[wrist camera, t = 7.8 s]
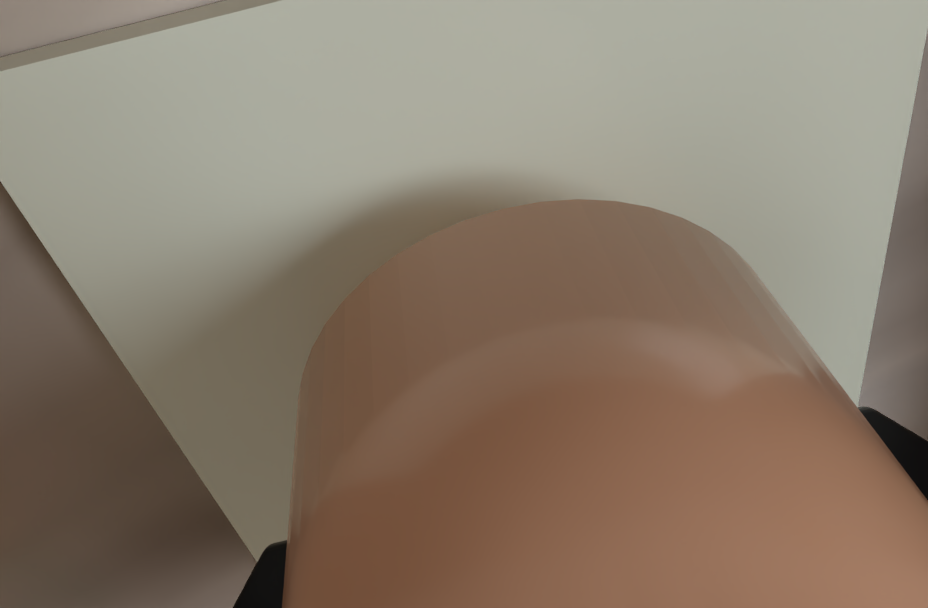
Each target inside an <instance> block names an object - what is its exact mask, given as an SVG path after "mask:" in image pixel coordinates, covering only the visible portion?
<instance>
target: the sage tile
mask: <svg viewBox="0 0 928 608" xmlns="http://www.w3.org/2000/svg"><path fill="white" fill-rule="evenodd" d="M927 30H928V0H225V1H221V2H217V3H213V4H209V5H205V6H201V7H197V8H193V9H189V10H185V11H181V12H177V13H173V14H169V15H165V16H162V17H158V18H154V19H150V20H146V21H142V22H138V23H134V24H130V25H126V26H122V27H118V28H114V29H110V30H106V31H102V32H98V33H94V34H90V35H86V36H82V37H78V38H75V39H71V40H67V41H63V42H59V43H55V44H51V45H47V46H43V47H39V48H35V49H31V50H27V51H23V52H19V53H15V54H11V55H7V56H3V57H0V181H1V183H2V184H3V186H4V187H5V189H6V190H7V192H8V193H9V195H10V196H11V198H12V199H13V201H14V202H15V204H16V205H17V207H18V208H19V210H20V211H21V213H22V214H23V216H24V217H25V218H26V220H27V221H28V223H29V224H30V226H31V227H32V229H33V230H34V232H35V233H36V235H37V236H38V238H39V239H40V241H41V242H42V244H43V245H44V247H45V248H46V250H47V251H48V253H49V254H50V256H51V257H52V259H53V260H54V262H55V263H56V265H57V266H58V267H59V269H60V270H61V272H62V273H63V275H64V276H65V278H66V279H67V281H68V282H69V284H70V285H71V287H72V288H73V290H74V291H75V293H76V294H77V296H78V297H79V299H80V300H81V302H82V303H83V305H84V306H85V308H86V309H87V311H88V312H89V314H90V315H91V316H92V318H93V319H94V321H95V322H96V324H97V325H98V327H99V328H100V330H101V331H102V333H103V334H104V336H105V337H106V339H107V340H108V342H109V343H110V345H111V346H112V348H113V349H114V351H115V352H116V354H117V355H118V357H119V358H120V360H121V361H122V363H123V364H124V365H125V367H126V368H127V370H128V371H129V373H130V374H131V376H132V377H133V379H134V380H135V382H136V383H137V385H138V386H139V388H140V389H141V391H142V392H143V394H144V395H145V397H146V398H147V400H148V401H149V403H150V404H151V406H152V407H153V409H154V410H155V412H156V413H157V414H158V416H159V417H160V419H161V420H162V422H163V423H164V425H165V426H166V428H167V429H168V431H169V432H170V434H171V435H172V437H173V438H174V440H175V441H176V443H177V444H178V446H179V447H180V449H181V450H182V452H183V453H184V455H185V456H186V458H187V459H188V461H189V462H190V463H191V465H192V466H193V468H194V469H195V471H196V472H197V474H198V475H199V477H200V478H201V480H202V481H203V483H204V484H205V486H206V487H207V489H208V490H209V492H210V493H211V495H212V496H213V498H214V499H215V501H216V502H217V504H218V505H219V507H220V508H221V510H222V511H223V512H224V514H225V515H226V517H227V518H228V520H229V521H230V523H231V524H232V526H233V527H234V529H235V530H236V532H237V533H238V535H239V536H240V538H241V539H242V541H243V542H244V544H245V545H246V547H247V548H248V550H249V551H250V553H251V554H252V556H253V557H254V559H255V560H256V561H257V562H258V560H259V558H260V556H261V554H262V553H263V551H264V550H265V548H266V547H267V546H269V545H270V544H272V543H276V542H280V541H284V540H287V536H288V523H289V510H290V497H291V484H292V471H293V458H294V445H295V432H296V419H297V406H298V396H299V391H300V385H301V379H302V374H303V371H304V368H305V365H306V362H307V360H308V357H309V354H310V351H311V349H312V347H313V345H314V343H315V341H316V340H317V338H318V336H319V334H320V333H321V331H322V329H323V327H324V325H325V324H326V322H327V321H328V320H329V318H330V317H331V316H332V314H333V313H334V312H335V311H336V309H337V308H338V307H339V305H340V304H341V303H342V302H343V300H344V299H345V298H346V297H347V296H348V295H349V294H350V293H351V292H352V291H353V290H354V289H355V288H356V287H357V286H358V285H359V284H360V283H361V282H362V281H363V280H364V279H366V278H367V277H368V276H369V275H370V274H371V273H373V272H374V271H375V270H377V269H378V268H379V267H381V266H382V265H383V264H385V263H386V262H387V261H389V260H390V259H391V258H393V257H394V256H395V255H397V254H398V253H400V252H402V251H403V250H405V249H407V248H408V247H410V246H412V245H414V244H415V243H417V242H419V241H421V240H422V239H424V238H426V237H428V236H429V235H432V234H434V233H436V232H439V231H441V230H443V229H445V228H448V227H450V226H452V225H455V224H457V223H459V222H462V221H464V220H467V219H470V218H474V217H477V216H480V215H483V214H487V213H490V212H493V211H497V210H500V209H504V208H509V207H515V206H520V205H526V204H531V203H536V202H544V201H559V200H573V199H585V200H605V201H618V202H624V203H629V204H635V205H641V206H646V207H651V208H654V209H657V210H660V211H663V212H667V213H670V214H673V215H676V216H679V217H682V218H684V219H686V220H688V221H690V222H692V223H694V224H696V225H698V226H700V227H702V228H704V229H706V230H708V231H710V232H711V233H713V234H714V235H715V236H717V237H718V238H720V239H721V240H722V241H724V242H725V243H727V244H728V245H729V246H731V247H732V248H733V249H734V250H735V251H736V252H737V253H738V254H739V255H740V256H741V257H742V258H743V259H744V260H745V261H746V262H747V263H748V264H749V265H750V266H751V268H752V269H753V270H754V271H755V273H756V274H757V275H758V277H759V278H760V279H761V281H762V282H763V283H764V285H765V286H766V287H767V289H768V290H769V291H770V293H771V294H772V295H773V297H774V298H775V299H776V301H777V302H778V303H779V305H780V306H781V307H782V308H783V310H784V311H785V312H786V314H787V315H788V316H789V318H790V319H791V320H792V322H793V323H794V324H795V326H796V327H797V328H798V330H799V331H800V332H801V334H802V335H803V336H804V338H805V339H806V340H807V342H808V343H809V344H810V346H811V347H812V348H813V349H814V351H815V352H816V353H817V355H818V356H819V357H820V359H821V360H822V361H823V363H824V364H825V365H826V367H827V368H828V369H829V371H830V372H831V373H832V375H833V376H834V377H835V379H836V380H837V381H838V383H839V384H840V385H841V386H842V388H843V389H844V390H845V392H846V393H847V394H848V396H849V397H850V398H851V400H852V401H853V402H854V404H855V405H856V406H857V408H858V403H859V397H860V392H861V386H862V381H863V376H864V370H865V365H866V359H867V354H868V349H869V343H870V338H871V332H872V327H873V322H874V316H875V311H876V305H877V300H878V295H879V289H880V284H881V278H882V273H883V268H884V262H885V257H886V251H887V246H888V241H889V235H890V230H891V224H892V219H893V214H894V208H895V203H896V197H897V192H898V187H899V181H900V176H901V170H902V165H903V160H904V154H905V149H906V143H907V138H908V133H909V127H910V122H911V116H912V111H913V106H914V100H915V95H916V89H917V84H918V79H919V73H920V68H921V62H922V57H923V52H924V46H925V41H926V35H927Z"/></svg>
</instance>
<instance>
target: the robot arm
mask: <svg viewBox="0 0 928 608" xmlns="http://www.w3.org/2000/svg"><path fill="white" fill-rule="evenodd" d="M858 409H859V410H860V412H861V413H862V414H863V416H864V417H865V418H866V420H867V421H868V422H869V424H870V425H871V426H872V427H873V429H874V430H875V431H876V433H877V434H878V435H879V437H880V438H881V439H882V441H883V442H884V443H885V445H886V446H887V447H888V449H889V450H890V451H891V453H892V454H893V455H894V457H895V458H896V459H897V461H898V462H899V463H900V464H901V466H902V467H903V468H904V470H905V471H906V472H907V474H908V475H909V476H910V478H911V479H912V480H913V482H914V483H915V484H916V486H917V487H918V488H919V490H920V491H921V492H922V494H923V495H924V496H925V498H926V499H927V500H928V441H927V440H925V439H923V438H922V437H920V436H918V435H916V434H915V433H913V432H911V431H910V430H908V429H906V428H905V427H903V426H901V425H900V424H898V423H896V422H895V421H893V420H891V419H890V418H888V417H886V416H885V415H883V414H881V413H880V412H878V411H876V410H874V409H872V408H869V407H858ZM286 549H287V540H284V541H280V542H276V543H272V544H270V545H269V546H267V547H266V548H265V550H264V551H263V553H262V554H261V556H260V558H259V560H258V562H257V564H256V565H255V567H254V569H253V571H252V573H251V575H250V577H249V578H248V580H247V582H246V584H245V586H244V588H243V590H242V592H241V593H240V595H239V597H238V599H237V601H236V603H235V605H234V606H233V608H282V601H283V588H284V575H285V562H286Z"/></svg>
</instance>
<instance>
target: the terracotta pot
mask: <svg viewBox="0 0 928 608" xmlns="http://www.w3.org/2000/svg"><path fill="white" fill-rule="evenodd" d="M282 608H928V500H927V499H926V498H925V496H924V495H923V494H922V492H921V491H920V490H919V488H918V487H917V486H916V484H915V483H914V482H913V480H912V479H911V478H910V476H909V475H908V474H907V472H906V471H905V470H904V468H903V467H902V466H901V464H900V463H899V462H898V461H897V459H896V458H895V457H894V455H893V454H892V453H891V451H890V450H889V449H888V447H887V446H886V445H885V443H884V442H883V441H882V439H881V438H880V437H879V435H878V434H877V433H876V431H875V430H874V429H873V427H872V426H871V425H870V424H869V422H868V421H867V420H866V418H865V417H864V416H863V414H862V413H861V412H860V410H859V409H858V408H857V406H856V405H855V404H854V402H853V401H852V400H851V398H850V397H849V396H848V394H847V393H846V392H845V390H844V389H843V388H842V386H841V385H840V384H839V383H838V381H837V380H836V379H835V377H834V376H833V375H832V373H831V372H830V371H829V369H828V368H827V367H826V365H825V364H824V363H823V361H822V360H821V359H820V357H819V356H818V355H817V353H816V352H815V351H814V349H813V348H812V347H811V346H810V344H809V343H808V342H807V340H806V339H805V338H804V336H803V335H802V334H801V332H800V331H799V330H798V328H797V327H796V326H795V324H794V323H793V322H792V320H791V319H790V318H789V316H788V315H787V314H786V312H785V311H784V310H783V308H782V307H781V306H780V305H779V303H778V302H777V301H776V299H775V298H774V297H773V295H772V294H771V293H770V291H769V290H768V289H767V287H766V286H765V285H764V283H763V282H762V281H761V279H760V278H759V277H758V275H757V274H756V273H755V271H754V270H753V269H752V268H751V266H750V265H749V264H748V263H747V262H746V261H745V260H744V259H743V258H742V257H741V256H740V255H739V254H738V253H737V252H736V251H735V250H734V249H733V248H732V247H731V246H729V245H728V244H727V243H725V242H724V241H722V240H721V239H720V238H718V237H717V236H715V235H714V234H713V233H711V232H710V231H708V230H706V229H704V228H702V227H700V226H698V225H696V224H694V223H692V222H690V221H688V220H686V219H684V218H682V217H679V216H676V215H673V214H670V213H667V212H663V211H660V210H657V209H654V208H651V207H646V206H641V205H635V204H629V203H624V202H618V201H605V200H585V199H573V200H559V201H544V202H536V203H531V204H526V205H520V206H515V207H509V208H504V209H500V210H497V211H493V212H490V213H487V214H483V215H480V216H477V217H474V218H470V219H467V220H464V221H462V222H459V223H457V224H455V225H452V226H450V227H448V228H445V229H443V230H441V231H439V232H436V233H434V234H432V235H429V236H428V237H426V238H424V239H422V240H421V241H419V242H417V243H415V244H414V245H412V246H410V247H408V248H407V249H405V250H403V251H402V252H400V253H398V254H397V255H395V256H394V257H393V258H391V259H390V260H389V261H387V262H386V263H385V264H383V265H382V266H381V267H379V268H378V269H377V270H375V271H374V272H373V273H371V274H370V275H369V276H368V277H367V278H366V279H364V280H363V281H362V282H361V283H360V284H359V285H358V286H357V287H356V288H355V289H354V290H353V291H352V292H351V293H350V294H349V295H348V296H347V297H346V298H345V299H344V300H343V302H342V303H341V304H340V305H339V307H338V308H337V309H336V311H335V312H334V313H333V314H332V316H331V317H330V318H329V320H328V321H327V322H326V324H325V325H324V327H323V329H322V331H321V333H320V334H319V336H318V338H317V340H316V341H315V343H314V345H313V347H312V349H311V351H310V354H309V357H308V360H307V362H306V365H305V368H304V371H303V374H302V379H301V385H300V391H299V396H298V406H297V419H296V432H295V445H294V458H293V471H292V484H291V497H290V510H289V523H288V536H287V549H286V562H285V575H284V588H283V601H282Z"/></svg>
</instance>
